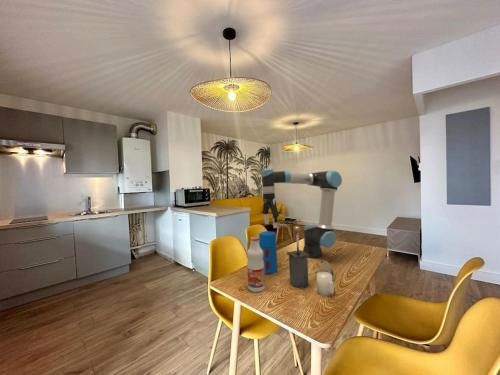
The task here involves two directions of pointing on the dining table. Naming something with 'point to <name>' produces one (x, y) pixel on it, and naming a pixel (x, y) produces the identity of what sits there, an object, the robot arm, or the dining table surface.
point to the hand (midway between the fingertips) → (271, 225)
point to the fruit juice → (255, 266)
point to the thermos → (268, 251)
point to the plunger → (297, 236)
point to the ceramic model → (325, 270)
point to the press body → (298, 269)
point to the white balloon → (325, 284)
